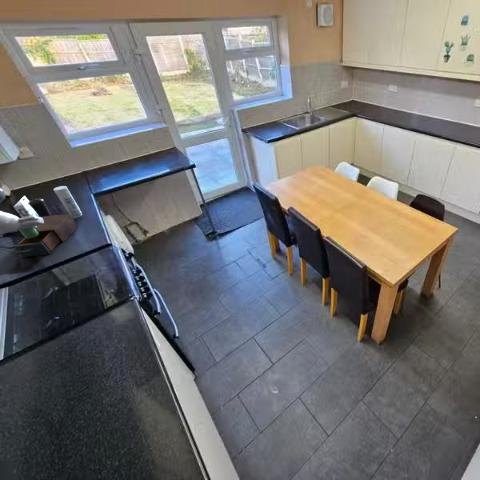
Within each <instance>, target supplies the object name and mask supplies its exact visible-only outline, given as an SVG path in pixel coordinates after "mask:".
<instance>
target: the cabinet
mask: <svg viewBox="0 0 480 480" xmlns="http://www.w3.org/2000/svg"><path fill="white" fill-rule="evenodd" d="M42 218H43V221H44V224H43V225H39V226H37V228H35V229H36V230H37V232H47V231H53V232H54V233H55V234H56V235H57V237H58V238H59V239H60V240H61V241H60V242H59V243H58V244H60V243H65V242H66V241H67V240H68V239H69V238H70V237H71V236H72V234H73V233H74V232H75V231H76V230H77V229H78V227H79V225H78V224H77V222H76V220H74V218H72V217H71V215H70V214H69V213H64V214H53V215H52V216H43V217H42Z"/></svg>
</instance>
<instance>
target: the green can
mask: <svg viewBox="0 0 480 480" xmlns="http://www.w3.org/2000/svg"><path fill="white" fill-rule="evenodd" d="M19 232H20V234H21V235H23V236H24V238H25V237H26V238H27V239H29V238H33V237H35V236H37V235H38V234H39V233H38V232H37V230H36V229H35V228H31V227H30V228H26V229H22V230H19Z"/></svg>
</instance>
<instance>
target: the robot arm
mask: <svg viewBox="0 0 480 480" xmlns="http://www.w3.org/2000/svg"><path fill="white" fill-rule="evenodd" d="M5 200H6V193H5V191H4V190H3V189H2V188H0V204H1V203H2V202H4V201H5ZM43 224H44V221H43V218H41V217H40V216H38V217H37V216H27V217H18V216H17V215H16V214H15V215H14V214H12V213H9V212H4V211H2V210H0V235H4V234H8V233H15V232H16V233H18V232H20V231H19V230H22V229H26V228H30V227H31V228H37V226H39V225H43Z"/></svg>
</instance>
